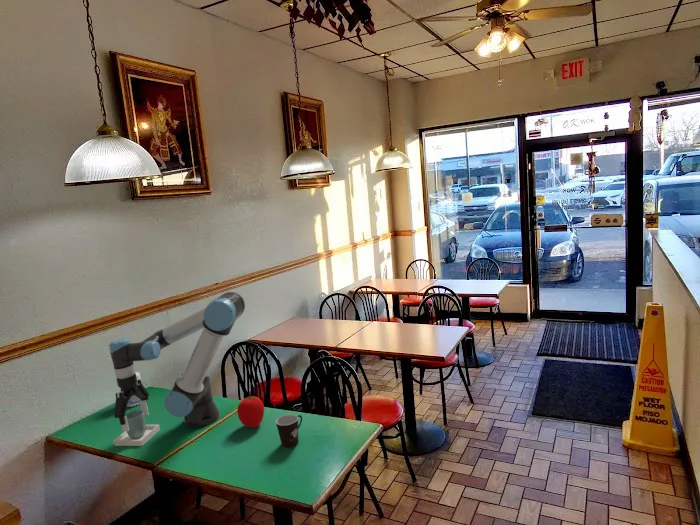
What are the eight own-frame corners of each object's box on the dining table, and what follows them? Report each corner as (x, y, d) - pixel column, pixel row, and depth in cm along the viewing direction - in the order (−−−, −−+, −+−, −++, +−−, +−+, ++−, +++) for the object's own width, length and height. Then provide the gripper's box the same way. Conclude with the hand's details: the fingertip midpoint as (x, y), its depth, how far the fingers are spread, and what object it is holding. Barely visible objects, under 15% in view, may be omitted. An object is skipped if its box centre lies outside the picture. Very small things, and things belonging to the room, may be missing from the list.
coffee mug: (283, 452, 181) (280, 427, 180) (276, 442, 189) (272, 419, 187) (311, 442, 186) (308, 418, 185) (303, 432, 194) (300, 409, 192)
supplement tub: (126, 409, 235) (120, 381, 232) (122, 403, 242) (117, 376, 240) (147, 402, 240) (142, 375, 238) (142, 396, 248) (137, 370, 245)
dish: (160, 429, 210) (159, 424, 210) (142, 445, 197) (141, 440, 197) (133, 429, 213) (132, 424, 212) (114, 445, 200) (113, 440, 200)
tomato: (248, 435, 197) (243, 406, 195) (235, 427, 205) (231, 399, 203) (271, 424, 204) (267, 396, 202) (258, 416, 212) (254, 389, 210)
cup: (139, 440, 200) (135, 418, 198) (123, 440, 202) (119, 418, 200) (151, 431, 208) (147, 409, 206) (135, 431, 209) (131, 409, 208)
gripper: (136, 364, 213) (145, 408, 217) (97, 388, 189) (108, 438, 193) (151, 363, 212) (160, 408, 215) (114, 388, 188) (125, 437, 191)
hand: (136, 422), depth 204 cm, fingers open, 13 cm apart
